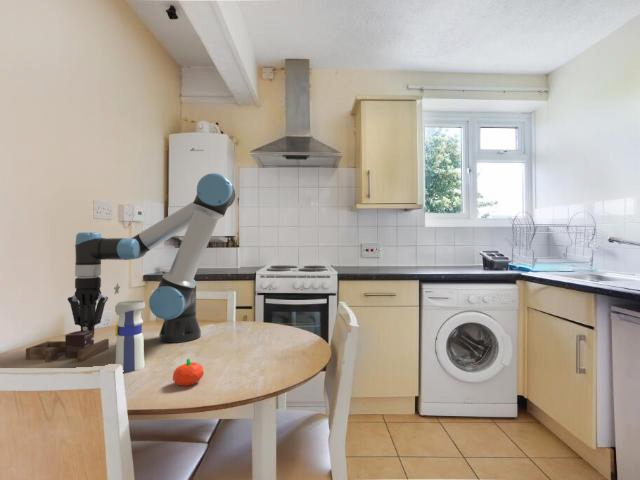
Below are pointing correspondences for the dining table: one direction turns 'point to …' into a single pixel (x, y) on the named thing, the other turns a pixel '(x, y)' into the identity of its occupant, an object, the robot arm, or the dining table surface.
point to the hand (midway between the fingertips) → (87, 345)
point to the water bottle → (129, 335)
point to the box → (77, 342)
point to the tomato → (188, 373)
